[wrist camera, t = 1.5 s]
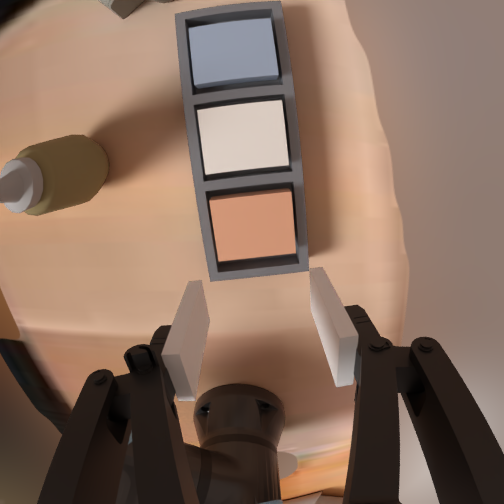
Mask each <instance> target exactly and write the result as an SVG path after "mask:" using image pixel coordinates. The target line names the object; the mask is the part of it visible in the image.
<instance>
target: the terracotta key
mask: <svg viewBox="0 0 504 504" xmlns="http://www.w3.org/2000/svg"><path fill="white" fill-rule="evenodd" d="M209 202H210V209H211V215H212V222H213V228H214V235H215V241H216V248H217V254H218V260H219V261H228V260H237V259H247V258H256V257H265V256H274V255H283V254H292V253H296V246H295V232H294V219H293V206H292V194H291V191H290V189H289V188H282V189H272V190H262V191H253V192H244V193H236V194H228V195H220V196H212V197H211V199H210V201H209Z"/></svg>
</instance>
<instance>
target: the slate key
mask: <svg viewBox="0 0 504 504" xmlns="http://www.w3.org/2000/svg"><path fill="white" fill-rule="evenodd" d="M189 39H190V49H191V59H192V68H193V78H194V85H195V86H196V87H197V88H198V89H201V88H207V87H214V86H221V85H228V84H236V83H245V82H254V81H265V80H276V79H277V77H278V75H279V74H278V66H277V59H276V52H275V45H274V38H273V31H272V25H271V18H267V19H253V20H242V21H233V22H225V23H217V24H211V25H204V26H198V27H193V28H189Z"/></svg>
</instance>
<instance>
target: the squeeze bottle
mask: <svg viewBox="0 0 504 504" xmlns="http://www.w3.org/2000/svg"><path fill="white" fill-rule="evenodd" d="M108 171H109V161H108V157H107V154H106V153H105V151H104V150H103V148H102V147H101V146H100V145H98V144H97V143H96V142H95V141H93V140H91V139H90V138H88V137H86V136H84V135H69V136H65V137H61V138H57V139H53V140H49V141H46V142H42V143H39V144H35V145H32V146H29V147H27V148H25V149H24V150H22V151H20V153H19V154H18V156H17V157H16V159H12V160H11V161H9V162H8V163H6V164H5V166H4V168H3V169H2V171H1V175H0V203H4V204H5V206H6V208H8V209H9V210H10V211H12V212H14V213H21V212H23V211H24V212H25V213H27V214H28V215H35V216H39V215H42V214H46V213H49V212H53V211H57V210H60V209H64V208H68V207H72V206H76V205H79V204H82V203H85V202H87V201H90V200H91V199H92V198H93V197H94V196H95V195H96V194H97V193H98V191H99V190H100V188H101V186H102V185H103V183H104V181H105V179H106V177H107V175H108Z"/></svg>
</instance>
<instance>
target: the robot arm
mask: <svg viewBox="0 0 504 504" xmlns="http://www.w3.org/2000/svg"><path fill="white" fill-rule="evenodd" d="M309 271H310V299H311V312H312V315H313V318H314V321H315V324H316V327H317V330H318V333H319V336H320V339H321V342H322V345H323V348H324V351H325V354H326V357H327V360H328V363H329V366H330V369H331V373H332V376H333V379H334V382H335V385H336V387H341V386H347V385H352V384H353V381H354V376H355V379H356V381H357V386H356V393H355V399H354V401H355V410H354V421H353V431H352V441H351V449H350V457H349V465H348V472H347V478H346V485H345V491H344V497H343V502H342V504H402V503H400V502H399V474H400V473H399V472H400V437H399V436H400V432H399V407H398V393H401V395H402V398H403V400H404V402H405V405H406V407H407V410H408V413H409V415H410V418H411V420H412V423H413V426H414V428H415V431H416V434H417V436H418V439H419V442H420V445H421V448H422V451H423V453H424V456H425V459H426V462H427V465H428V468H429V471H430V474H431V477H432V480H433V483H434V487H435V490H436V493H437V497H438V500H439V503H440V504H504V454H503V452H502V450H501V448H500V446H499V444H498V442H497V440H496V438H495V436H494V434H493V432H492V430H491V428H490V426H489V425H488V423H487V421H486V419H485V417H484V415H483V414H482V412H481V410H480V408H479V407H478V405H477V403H476V401H475V400H474V398H473V396H472V394H471V393H470V391H469V389H468V388H467V386H466V384H465V383H464V381H463V379H462V378H461V376H460V375H459V373H458V371H457V370H456V368H455V367H454V365H453V364H452V362H451V360H450V359H449V357H448V356H447V354H446V353H445V351H444V350H443V349H442V347H441V345H440V344H439V343H438V342H437V341H436V340H435V339H433V338H429V337H419V338H416V339H415V340H414V341H413V342H412V344H411V347H398V346H393V345H392V342H391V341H389V340H388V339H386V338H384V337H381V336H380V335H379V333H378V331H377V330H376V328H375V326H374V325H373V323H372V321H371V320H370V318H369V317H368V315H367V313H366V312H365V310H364V309H363V308H361V307H360V306H358V305H352V306H345V307H344V306H343V304H342V302H341V300H340V298H339V296H338V295H337V293H336V291H335V289H334V287H333V285H332V283H331V282H330V280H329V278H328V276H327V274H326V272H325V271H324V269H323V267H318V268H310V269H309ZM209 323H210V319H209V314H208V309H207V304H206V300H205V295H204V290H203V285H202V280H198V281H189V282H188V284H187V287H186V290H185V292H184V295H183V297H182V300H181V303H180V305H179V308H178V310H177V313H176V316H175V318H174V321H173V324H172V325H166V326H160V327H159V328H158V329H157V330H156V331H155V333H154V335H153V337H152V339H151V342H150V345H146V344H140V345H136V346H133V347H131V348H130V349H128V350H127V351H126V352H125V354H124V359H125V361H126V364H127V366H128V368H129V371H130V373H128V374H125V375H120V376H115V377H114V375H113V373H112V372H111V371H110V370H106V369H101V370H97V371H95V372H93V373H92V374H90V375H89V377H88V378H87V380H86V382H85V384H84V386H83V388H82V390H81V393H80V395H79V397H78V399H77V401H76V404H75V406H74V408H73V410H72V413H71V415H70V417H69V420H68V422H67V424H66V427H65V429H64V432H63V434H62V437H61V439H60V442H59V444H58V447H57V449H56V452H55V455H54V457H53V460H52V462H51V465H50V468H49V470H48V473H47V476H46V479H45V482H44V485H43V487H42V490H41V493H40V496H39V500H38V503H37V504H283V501H282V500H281V490H280V479H279V468H278V458H277V446H278V443H279V440H280V437H281V434H282V431H283V427H284V424H285V414H284V407H283V404H282V403H281V401H280V400H279V399H278V398H277V397H276V396H275V395H274V394H272V393H271V392H269V391H267V390H265V389H262V388H259V387H255V386H250V385H240V384H235V385H225V386H220V387H217V388H214V389H211V390H209V391H207V392H206V393H204V394H203V395H202V396H201V397H200V398H199V399H198V400H197V402H196V405H195V410H194V424H195V428H196V432H197V436H198V439H199V443H200V447H197V446H194V445H191V444H187V443H184V442H183V437H182V433H181V428H180V423H179V418H178V414H177V408H176V405H175V403H174V401H173V400H174V396H175V393H176V396H177V398H178V401H195V399H196V393H197V387H198V382H199V376H200V371H201V365H202V360H203V354H204V349H205V344H206V338H207V333H208V328H209Z"/></svg>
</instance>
